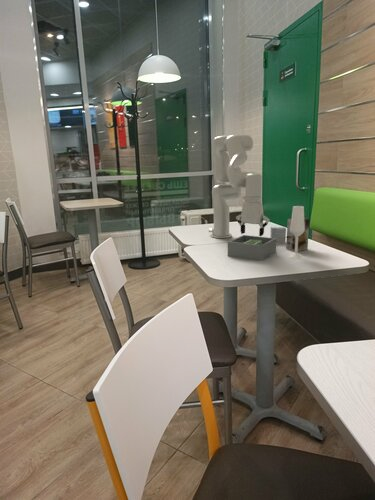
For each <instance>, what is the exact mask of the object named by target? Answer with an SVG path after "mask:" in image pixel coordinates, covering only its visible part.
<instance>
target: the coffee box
mask: <svg viewBox="0 0 375 500" xmlns="http://www.w3.org/2000/svg"><path fill="white" fill-rule="evenodd" d="M291 218H292V217H290V218H287V223H286V225H287V226H286V227H287V229H286V240H285V244H286V246H285V248H286V249H285V250H288V251H291V252H295V239H296V237H295V236H294V235H293V234H292V233H291V232H290V225H291ZM304 224H305V231H304V232H303V234H302V235H300V236H299V237H298V250H297V252H298V251H306V250H308V248H309V246H308V245H309V231H310V218H307V217H304Z"/></svg>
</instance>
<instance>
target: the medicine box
mask: <svg viewBox="0 0 375 500" xmlns="http://www.w3.org/2000/svg"><path fill="white" fill-rule="evenodd" d="M269 235H270V237H269V238H277V241H276V244H286V240H287V229H286V226H271V227H270V234H269Z"/></svg>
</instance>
